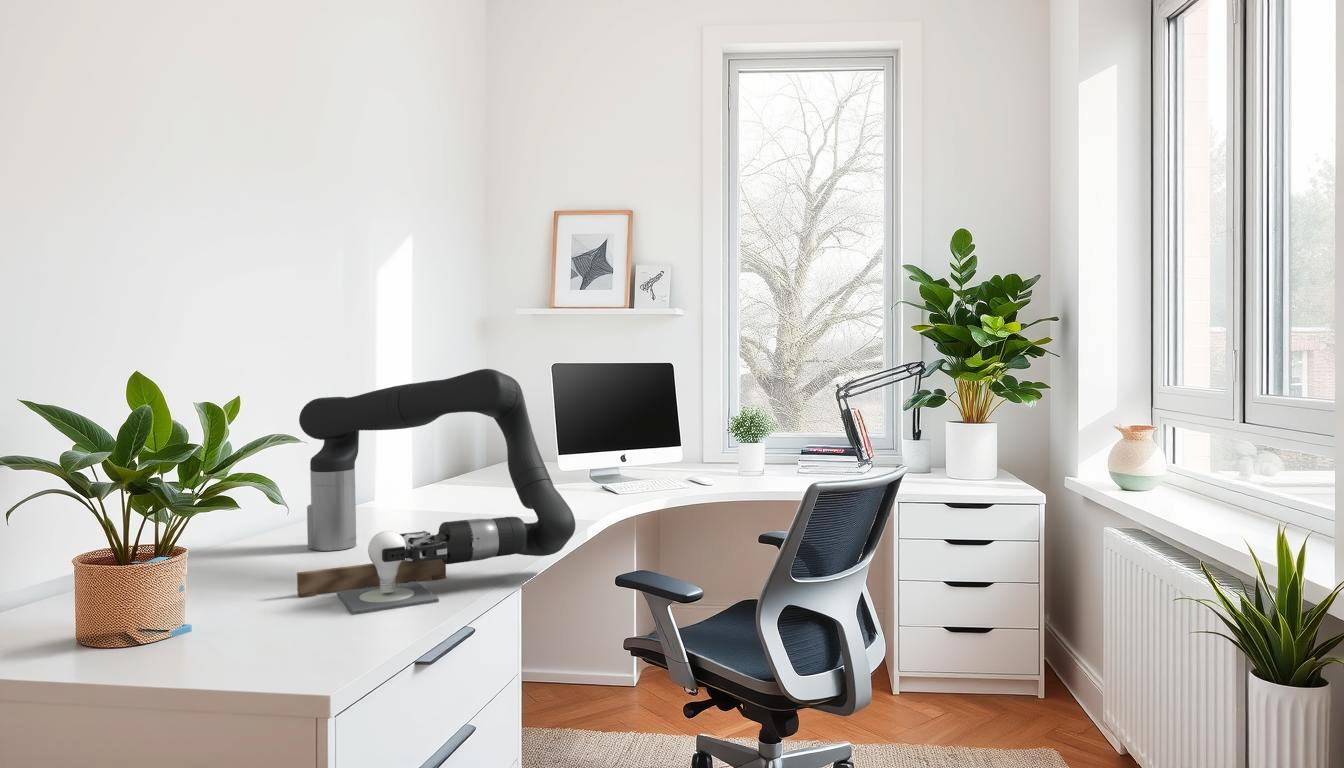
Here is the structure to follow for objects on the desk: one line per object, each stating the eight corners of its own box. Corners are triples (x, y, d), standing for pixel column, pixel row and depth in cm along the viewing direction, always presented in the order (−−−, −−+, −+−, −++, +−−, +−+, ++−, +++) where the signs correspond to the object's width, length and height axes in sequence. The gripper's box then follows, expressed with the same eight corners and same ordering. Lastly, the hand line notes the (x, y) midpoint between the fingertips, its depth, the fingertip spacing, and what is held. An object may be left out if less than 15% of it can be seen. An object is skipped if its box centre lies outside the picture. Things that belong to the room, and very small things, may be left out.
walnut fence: (299, 598, 155) (299, 575, 155) (296, 594, 157) (296, 571, 157) (447, 578, 168) (446, 557, 168) (442, 574, 171) (442, 554, 170)
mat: (353, 614, 144) (353, 610, 144) (337, 595, 156) (337, 591, 156) (438, 601, 152) (438, 597, 152) (417, 584, 164) (417, 580, 164)
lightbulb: (400, 598, 151) (399, 534, 151) (362, 598, 151) (362, 534, 151) (411, 589, 157) (411, 527, 157) (375, 589, 157) (375, 527, 157)
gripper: (456, 514, 167) (367, 523, 159) (481, 526, 155) (385, 536, 147) (457, 553, 167) (368, 564, 159) (481, 568, 155) (386, 581, 147)
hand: (376, 551), depth 153 cm, fingers open, 8 cm apart
